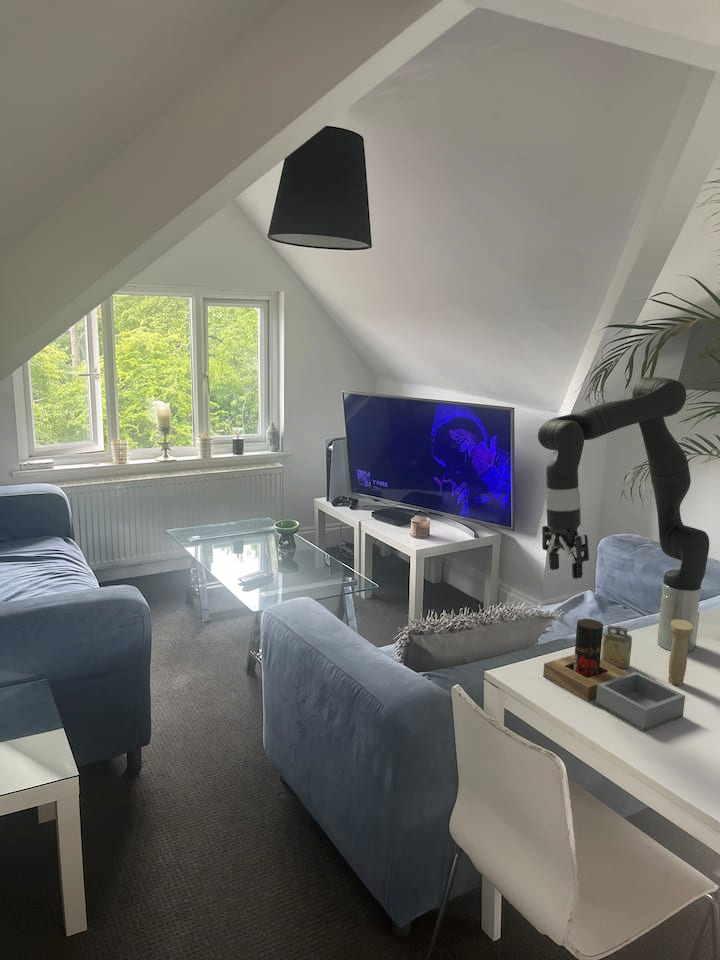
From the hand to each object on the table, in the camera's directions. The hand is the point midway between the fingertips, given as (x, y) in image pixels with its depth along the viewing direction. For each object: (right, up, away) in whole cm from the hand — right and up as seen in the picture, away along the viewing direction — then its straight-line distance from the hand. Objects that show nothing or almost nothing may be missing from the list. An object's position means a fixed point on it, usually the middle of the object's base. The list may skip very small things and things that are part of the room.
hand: (565, 573), depth 168 cm
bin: (+14, -30, -8) cm, 34 cm away
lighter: (+17, -25, +15) cm, 34 cm away
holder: (+6, -27, +5) cm, 28 cm away
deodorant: (+6, -27, +5) cm, 28 cm away
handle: (+28, -27, +5) cm, 40 cm away
